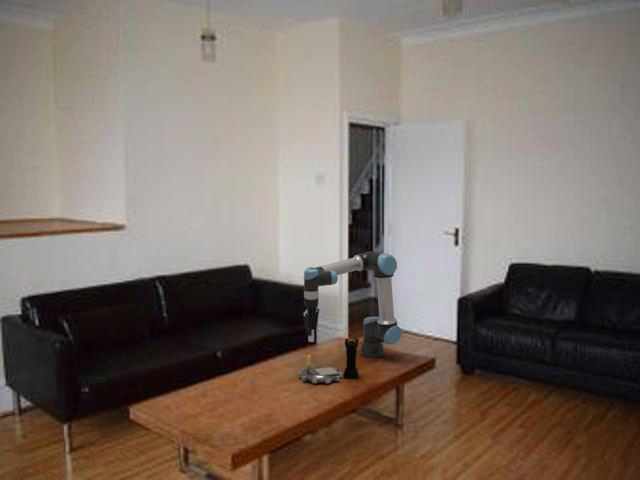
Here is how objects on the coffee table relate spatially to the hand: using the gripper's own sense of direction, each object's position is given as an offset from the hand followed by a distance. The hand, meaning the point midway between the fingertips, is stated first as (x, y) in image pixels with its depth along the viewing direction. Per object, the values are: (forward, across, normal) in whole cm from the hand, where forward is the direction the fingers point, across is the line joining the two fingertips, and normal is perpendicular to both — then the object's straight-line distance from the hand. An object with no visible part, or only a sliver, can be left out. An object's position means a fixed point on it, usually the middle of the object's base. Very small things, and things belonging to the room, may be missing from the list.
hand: (311, 341), depth 310 cm
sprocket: (+18, -1, +6) cm, 19 cm away
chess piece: (+20, -12, +18) cm, 29 cm away
